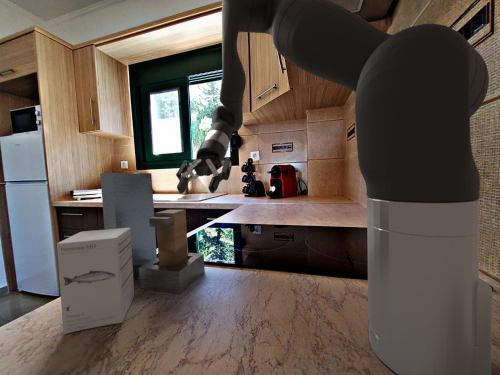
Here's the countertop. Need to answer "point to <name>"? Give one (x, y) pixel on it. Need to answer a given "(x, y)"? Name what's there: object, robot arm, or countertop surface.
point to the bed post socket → (144, 232)
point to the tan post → (171, 237)
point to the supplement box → (95, 278)
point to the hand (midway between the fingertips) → (195, 191)
